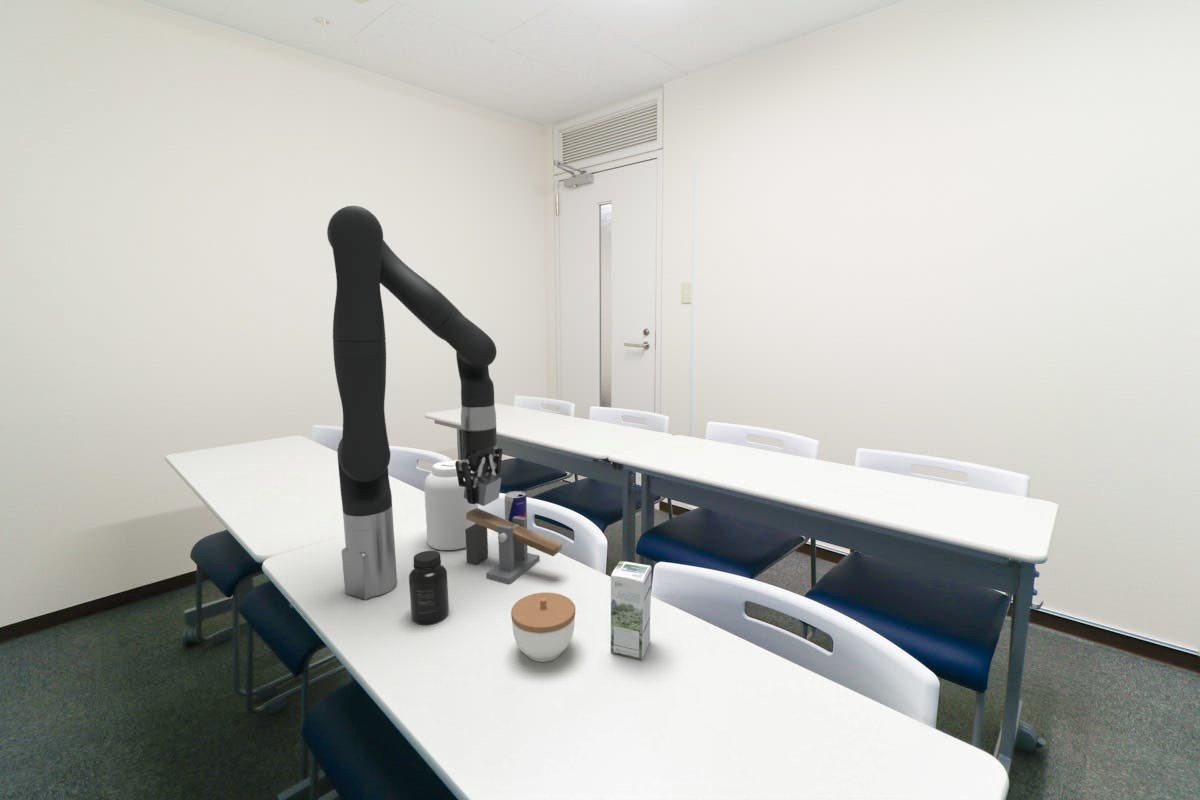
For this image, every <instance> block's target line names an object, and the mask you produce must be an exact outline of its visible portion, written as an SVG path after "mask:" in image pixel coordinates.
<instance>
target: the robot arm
mask: <svg viewBox="0 0 1200 800" xmlns="http://www.w3.org/2000/svg"><path fill="white" fill-rule="evenodd" d="M327 225H328V226H327V230H326V231H327V233H326V234H327V240H328V243H329V245H330V247H331V248H332V254H333V259H334V261H333V262H334V268H335V276H336V294H335V301H334V302H335V303H334V310H333V321H332V345H333V346H332V347H333V348H332V349H333V363H334V372H335V377H336V382H337V383H336V384H337V388H338V392H339V397H340V401H341V407H342V438H341V439H340V441H339V443H338V447H337V465H338V475H339V476H338V477H339V488H340V499H341V505H342V507H341V508H342V516H343V529H344V542H345V548H342V549H341V560H342V561H341V562H342V569H343V570H342V572H343V573H342V574H343V583H344V594H347V595H349V596H353V597H356V598H359V599H363V600H366V601H367V600H369V599H371V598H374V597H378V596H382V595H385V594H386V593H389V592H391V591H392V590H394V589H395V588H396V586H397V584H398V578H397V576H398V575H397V573H398V572H397V560H396V559H397V557H396V545H395V531H394V530H395V529H394V528H395V527H394V513H393V498H392V490H391V485H390V480H389V479H390V476H389V465H390V460H391V449H390V445H389V444H390V443H389V437H388V431H387V423H386V415H385V399H386V398H385V397H386V396H385V395H386V388H387V387H386V385H387V384H386V383H387V341H386V338H387V337H386V326H385V316H384V308H383V302H382V301H383V299H382V296H381V295H382V294H381V285H382V286H383V287H384V288H385V289H387V290H388V291H389V293H391V294H392V295H393V296H394V297H395V298H396V299H397V300H399V302H400V303H401V304H402V305H403V306H405V308H406V309H407V310H408V311H409V312H411V314H413V316H415V317H416V318H417V320H419V321H420V322H421V323H422V324H423V325H424V326H425V327H426V328H427V329H429V330H430V331H431V332H432V334H434V335H435V336H437V337H438V338H439V339H442V341H445V342H446V343H447V344H449V346H450V347H452V349H453V350H455V353H456V356H455V357H456V363H457V368H458V370H457V371H458V375H459V379H460V380H459V381H460V400H461V407H460V408H461V409H460V430H461V432H460V433H461V446H462V447H463V448H464V450H465V455H464V458H463V459H462V460H461V461H456V463H455V466H456V471H457V477H458V483H459V486H461V487H466V489H467V501H468V503H470V504H476V503H477V502H478V497H477V487H476V486H477V481H478V478H480V477H481V473H482V471H483V472H487V473H490V474H491V475H495V476H498V475H500V474H501V472H502V471H501V470H502V462H503V461H502V458H503V448H501V447H496V446H497V444H498V443H497V442H498V441H497V439H498V437H497V436H498V435H497V433H498V432H497V413H496V407H495V386H494V382H493V380H492V379H491V376H490V373H489V371H490V370H489V366H490V365H491V364H492V363H494V361H495V359H496V357H497V347H496V344H495V342H494V340H493V339H492V337H490V336H489V335H488V334H487V333H486V332H485V331H483V330H482V329H481V328H480V327H479V326H477V324H475V323H474V322H472V321H471V320H470V319H468V318H467V317H466V316H465V315H463V313H462V312H461V311H460V310H459V309H458V308H457V307H456V306H455V304H453V303H452V302H451V301H450V300H449V299H448V298H447V297H446V296H445V295H444V294H443V293H442V292H441V291H440V290H438V289H437V288H436V287H435V286H434V285H432V284H431V283H430V282H429V281H427V279H425V278H424V277H422V275H419V274H418V273H416V272H415V271H414V270H413V269H412V268H411V267H409V266H408V265H407V264H406V263H405V262H404V261H403V260H401V258H399V256H398V255H397V254H396V253H395V252H394V251H393V250H392V249H391V248H390V246H389V244H387V242H386V241H385V240H384V232H383V227H382V225H381V223H380V221H379V219H378V218H377V217H376V216H375V215H374V214H373V213H372V212H371V211H370V210H368V209H366V208H364V207H362V206H359V205H348V206H345V207H342V208H340V209H339V210H337V211H336V212H335V213H334V214H333V215H332V216H331V218H330V219H329V222H328V224H327ZM495 465H496V466H495ZM471 471H472V472H473V473H471ZM471 477H473V481H472V482H471ZM463 478H465V481H464V479H463Z"/></svg>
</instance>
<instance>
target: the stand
mask: <svg viewBox="0 0 1200 800" xmlns="http://www.w3.org/2000/svg"><path fill="white" fill-rule="evenodd" d="M512 520H513V523H514V524H518V525H519V526H522V527H524V528H526V529H528V517H527V518H523V517H518V516H515V517H513V518H512ZM465 533H466V547H465V551H466V552H465V555H466V556H465V557H466V563H469V564H471V565H475V566H478V565H480V564H481V563H483V562H484V561H486V560H487V559H488V558H489V546H488V545H489V543H488V542H489V540H488V528H486V527H484V526H481V525H479V524H477V523H476V524H474V525H472V526H470V527H469V528H467V529H465ZM497 534H498V535H497V539H498V561H499V562H498V563H497V565H496V566H494V567H492V568H491V569H489V571H487V572H486V575H485V576H486V577H485V578H486V579H488V580H492V581H495V582H499V583H503V584H506V585H511V584H512V583H514V581H516V580H517V579H518V578H520V576H522V575H523V574H524V573H525V572H527V571H528V570H530V569H532V567H533V566H534V565H536V564H537V563H539V562H540V560H541V559H540V558H541V557H540V555H539V554H533V553H529V552H528V545H525V544H523V543H521V542H518V541H516V540H514V539H513V527H511V526H506V525H500V526H498V532H497Z"/></svg>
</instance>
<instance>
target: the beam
mask: <svg viewBox="0 0 1200 800" xmlns="http://www.w3.org/2000/svg"><path fill="white" fill-rule="evenodd" d="M466 519H468V520H470V521H472V522H474V523H477V524H479V525H481V526H484V527H486V528H487V530H491V531H494V532H496V533H498V526H500V525H506V526H511V527H513V539H514V540H516V541H518V542H521V543H523V544H525V545H527V547H530V548H533V549H534V550H537V551H539V552H542V553H544V554H547V555H548V556H551V557H555V556H556V555H557V554H558V553H560V551H562V548H563V543H562V542H560V541H557V540H554V539H552V538H550V537H548V536H546V535H543V534H541V533H538V532H537V531H533V530H530V529H528V528H527V529H526V528H524V527H522V526H519V525H518V524H514V523H512V522H510V521H507V520H505V518H502V517H500V516H497V515H495V514H493V513H490V512H487V511H485V510H484V509H480V508H479V507H478V508H475V509H473V510H471V511H469V512H467V514H466Z"/></svg>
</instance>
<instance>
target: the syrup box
mask: <svg viewBox="0 0 1200 800" xmlns="http://www.w3.org/2000/svg"><path fill="white" fill-rule="evenodd" d="M651 598H652V566H651V565H649V564H642V563H637V562H631V561H623V560H619V562H618V563H617V565H616V566H615V568H614V569H613V571H612V573H611V574H610V653H611V654H614V655H615V654H616V655H619V656H624V657H629V658H633V659H638V660H643V659H644V656H645V653H646V652H647V649H648V647H649V644H650V642H651Z"/></svg>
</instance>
